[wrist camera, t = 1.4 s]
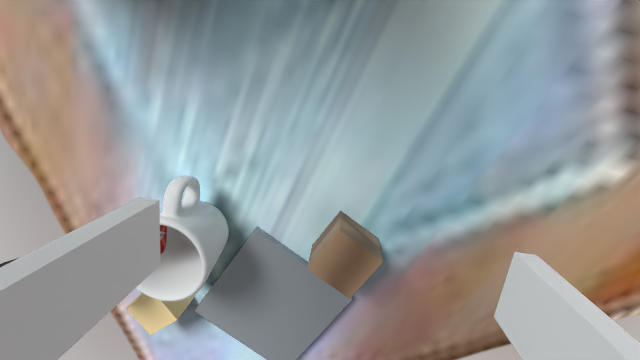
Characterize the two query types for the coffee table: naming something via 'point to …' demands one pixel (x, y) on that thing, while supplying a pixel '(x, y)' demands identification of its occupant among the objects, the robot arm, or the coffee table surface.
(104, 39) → the coffee table surface
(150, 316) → the ochre block
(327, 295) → the coaster
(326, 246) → the walnut block
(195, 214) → the cup
